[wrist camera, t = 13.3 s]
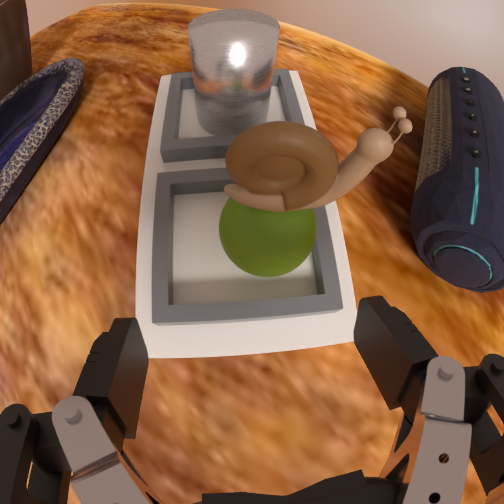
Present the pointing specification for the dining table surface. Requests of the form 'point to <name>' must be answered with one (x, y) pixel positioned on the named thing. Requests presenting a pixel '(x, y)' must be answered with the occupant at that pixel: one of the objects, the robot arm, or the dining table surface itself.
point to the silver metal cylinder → (232, 68)
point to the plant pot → (14, 45)
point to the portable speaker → (462, 182)
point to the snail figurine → (289, 189)
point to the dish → (34, 123)
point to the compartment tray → (213, 255)
